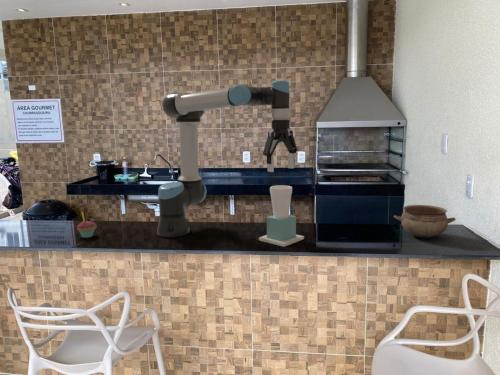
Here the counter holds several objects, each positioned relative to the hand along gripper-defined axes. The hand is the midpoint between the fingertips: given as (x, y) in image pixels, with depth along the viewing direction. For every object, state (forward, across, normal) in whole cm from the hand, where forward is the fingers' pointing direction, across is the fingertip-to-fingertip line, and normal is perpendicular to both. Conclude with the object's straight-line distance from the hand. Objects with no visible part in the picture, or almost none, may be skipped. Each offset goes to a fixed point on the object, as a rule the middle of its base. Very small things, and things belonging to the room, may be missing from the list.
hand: (280, 170), depth 171 cm
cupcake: (+31, +53, -73) cm, 95 cm away
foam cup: (+21, 0, 0) cm, 21 cm away
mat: (+31, 0, 0) cm, 31 cm away
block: (+29, 0, 0) cm, 29 cm away
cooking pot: (+31, -43, +45) cm, 69 cm away
